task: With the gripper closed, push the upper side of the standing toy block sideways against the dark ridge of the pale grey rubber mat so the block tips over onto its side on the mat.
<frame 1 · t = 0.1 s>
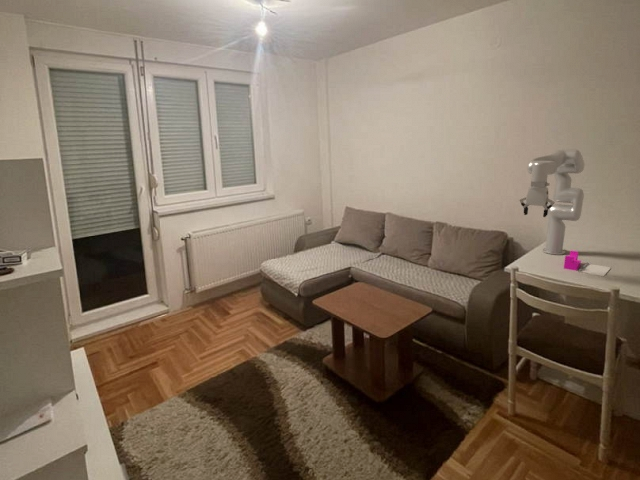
hand: (535, 215, 209), 31 cm above the table, tool pointing down, fingers open, 9 cm apart
mat: (594, 270, 212), on the table
toy block: (572, 266, 219), on the table
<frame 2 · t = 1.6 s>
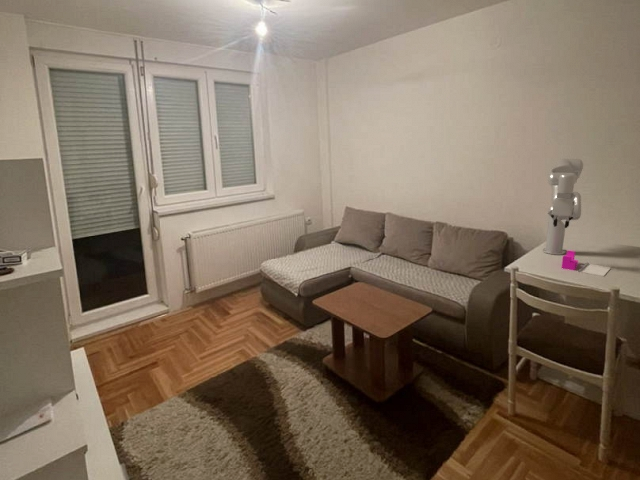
hand: (560, 226, 220), 22 cm above the table, tool pointing down, fingers open, 4 cm apart
toy block: (570, 266, 220), on the table
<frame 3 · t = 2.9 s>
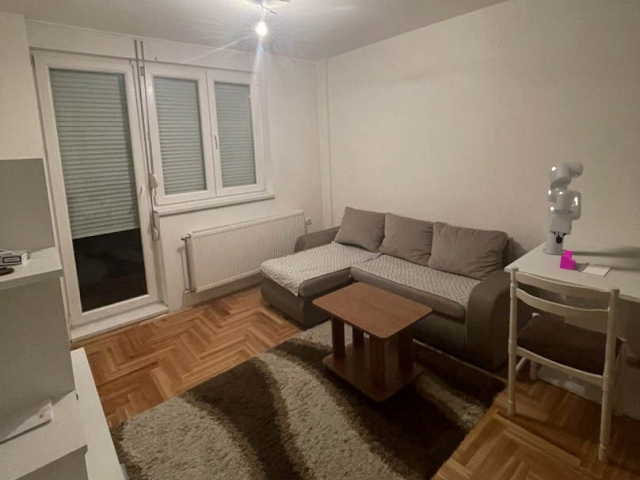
hand: (558, 243, 222), 12 cm above the table, tool pointing down, fingers closed
toy block: (567, 266, 220), on the table
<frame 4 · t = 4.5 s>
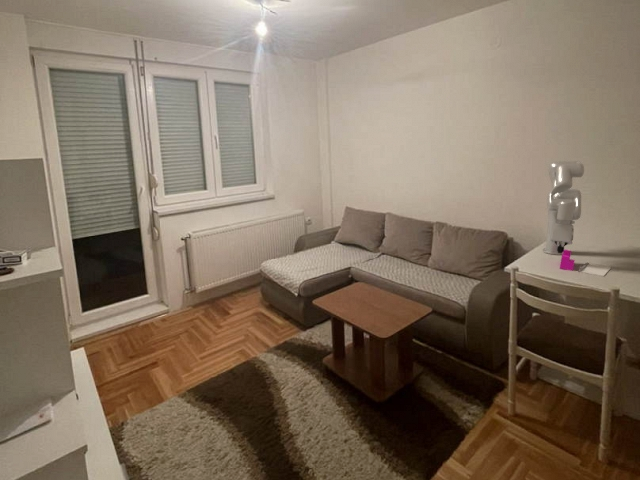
hand: (560, 252, 222), 7 cm above the table, tool pointing down, fingers closed
toy block: (566, 266, 220), on the table, touching gripper
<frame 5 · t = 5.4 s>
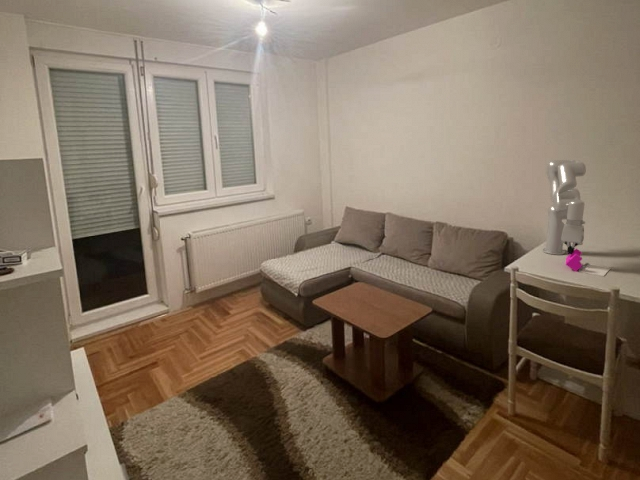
hand: (570, 253, 218), 7 cm above the table, tool pointing down, fingers closed
toy block: (570, 264, 217), point 1 cm above the table, touching gripper
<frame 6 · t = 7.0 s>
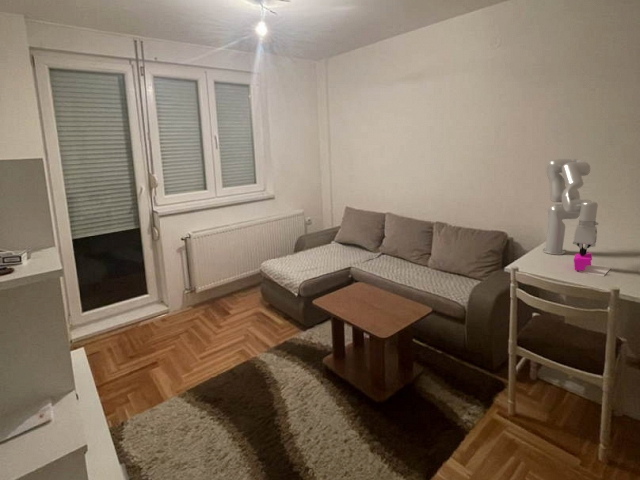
hand: (582, 255, 214), 7 cm above the table, tool pointing down, fingers closed
toy block: (574, 261, 216), point 4 cm above the table, touching gripper, mat
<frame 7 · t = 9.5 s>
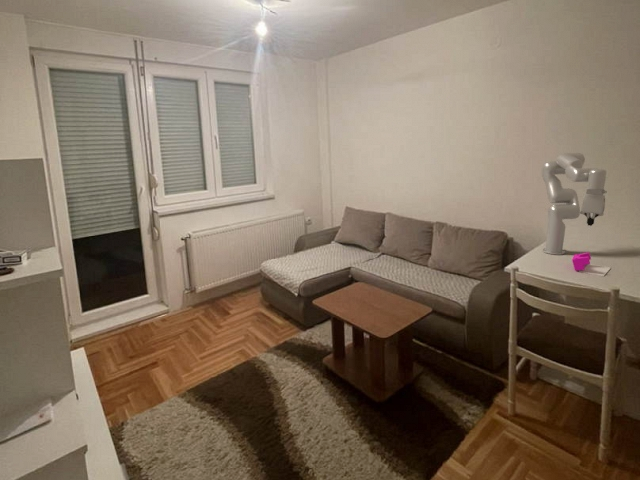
hand: (590, 225, 209), 25 cm above the table, tool pointing down, fingers closed
toy block: (574, 262, 216), point 3 cm above the table, touching mat
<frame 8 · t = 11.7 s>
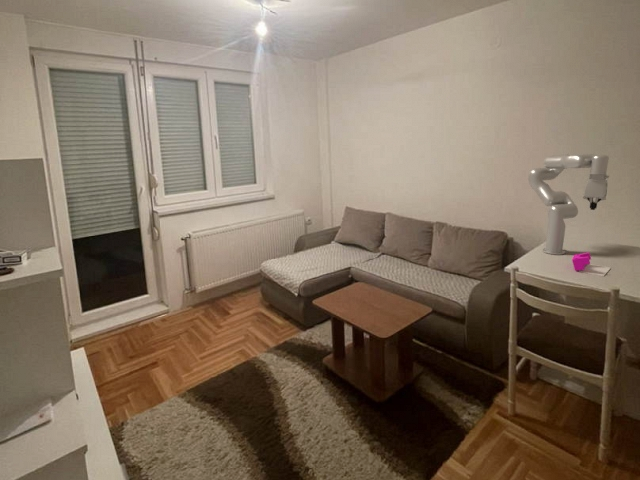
hand: (592, 209, 217), 32 cm above the table, tool pointing down, fingers closed
nothing on the table moved.
at the end: toy block tilted 70°; toy block touching mat, table; toy block inside the target area (6.5 cm from its centre), point 3.0 cm above the table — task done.
